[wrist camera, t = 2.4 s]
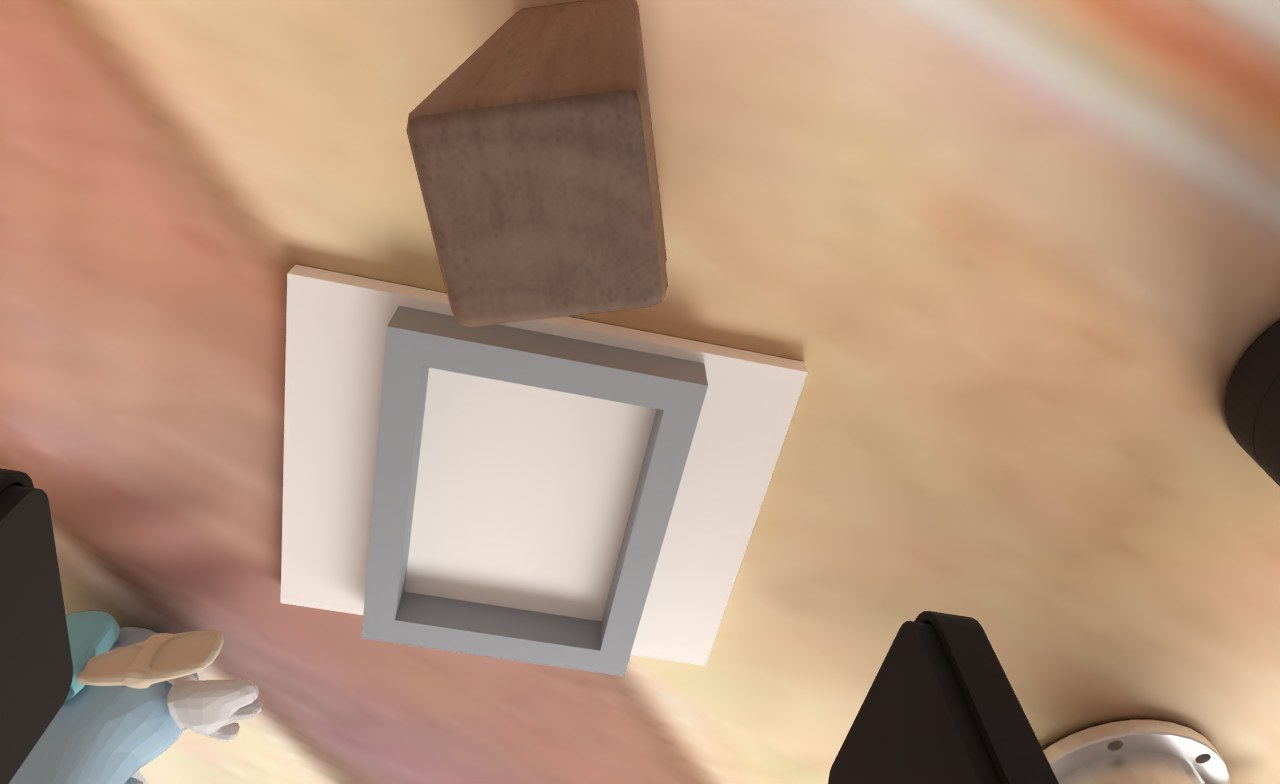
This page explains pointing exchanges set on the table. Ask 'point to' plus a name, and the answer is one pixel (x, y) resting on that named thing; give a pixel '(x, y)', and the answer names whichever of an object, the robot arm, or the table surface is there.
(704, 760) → the table surface
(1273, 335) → the pen holder
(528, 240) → the wooden block
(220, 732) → the toy figure
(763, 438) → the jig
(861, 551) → the table surface
